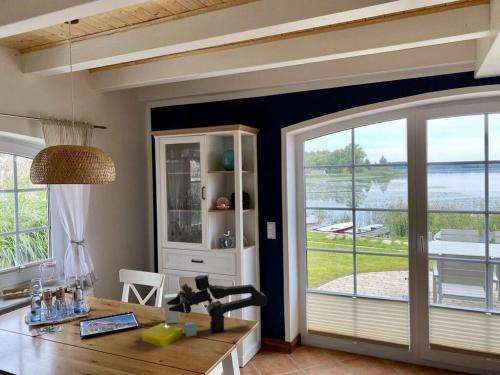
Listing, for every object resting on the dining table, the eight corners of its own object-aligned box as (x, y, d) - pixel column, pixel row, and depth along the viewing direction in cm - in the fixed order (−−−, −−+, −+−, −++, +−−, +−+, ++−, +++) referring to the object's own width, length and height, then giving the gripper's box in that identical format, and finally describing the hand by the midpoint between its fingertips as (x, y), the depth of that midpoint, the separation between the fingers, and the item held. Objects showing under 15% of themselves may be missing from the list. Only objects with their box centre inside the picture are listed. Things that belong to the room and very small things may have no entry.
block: (194, 331, 195) (194, 322, 195) (196, 335, 190) (196, 325, 190) (184, 333, 194) (184, 323, 193) (186, 336, 189) (186, 326, 189)
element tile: (140, 341, 185) (140, 331, 185) (162, 330, 198) (162, 321, 198) (162, 348, 177) (162, 337, 177) (184, 336, 190) (184, 327, 190)
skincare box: (179, 319, 213) (179, 292, 212) (180, 323, 207) (179, 296, 206) (164, 320, 211) (164, 294, 211) (164, 324, 205) (163, 297, 205)
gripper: (192, 277, 201) (162, 286, 196) (198, 287, 183) (166, 296, 179) (196, 297, 202) (167, 306, 197) (203, 309, 184) (171, 318, 180)
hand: (167, 306), depth 188 cm, fingers open, 9 cm apart
